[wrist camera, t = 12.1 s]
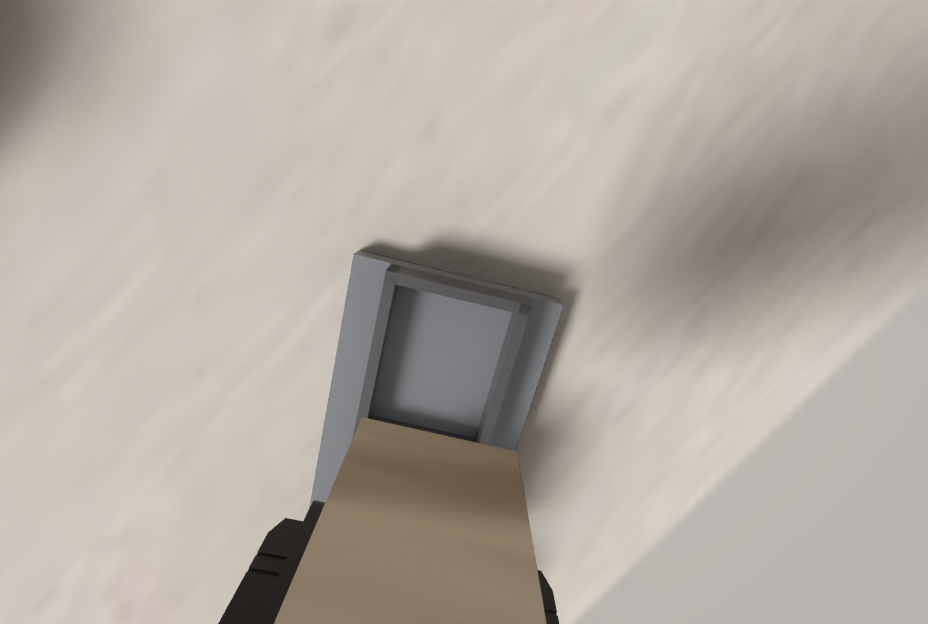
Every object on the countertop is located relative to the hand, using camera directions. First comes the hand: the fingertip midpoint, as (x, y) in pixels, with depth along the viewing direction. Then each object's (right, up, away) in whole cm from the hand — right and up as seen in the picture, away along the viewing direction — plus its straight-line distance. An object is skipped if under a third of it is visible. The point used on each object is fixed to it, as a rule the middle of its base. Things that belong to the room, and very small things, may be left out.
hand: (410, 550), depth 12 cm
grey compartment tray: (-2, -4, +14) cm, 15 cm away
